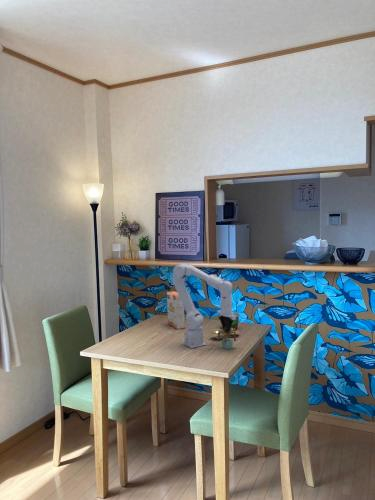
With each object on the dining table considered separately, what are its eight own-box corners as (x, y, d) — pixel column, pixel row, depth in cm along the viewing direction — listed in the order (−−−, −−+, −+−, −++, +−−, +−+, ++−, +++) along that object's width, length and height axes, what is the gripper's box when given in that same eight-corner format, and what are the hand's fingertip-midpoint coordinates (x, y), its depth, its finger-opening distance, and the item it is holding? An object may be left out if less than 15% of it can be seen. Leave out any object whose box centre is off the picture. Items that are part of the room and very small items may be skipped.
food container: (217, 329, 246) (216, 313, 245) (221, 326, 251) (220, 310, 250) (236, 331, 240) (235, 314, 239) (240, 328, 245) (239, 312, 244)
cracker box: (167, 324, 261) (166, 291, 259) (176, 323, 263) (175, 290, 261) (176, 329, 248) (175, 295, 246) (185, 328, 251) (184, 294, 249)
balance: (215, 342, 222) (214, 333, 222) (207, 338, 229) (207, 330, 229) (242, 336, 231) (242, 328, 230) (234, 332, 238) (233, 325, 237)
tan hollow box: (225, 343, 208) (224, 329, 207) (218, 340, 214) (217, 326, 213) (235, 341, 211) (235, 327, 211) (228, 337, 217) (228, 324, 216)
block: (226, 349, 210) (226, 341, 210) (221, 347, 214) (221, 339, 213) (232, 347, 212) (232, 340, 212) (228, 345, 216) (228, 338, 215)
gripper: (240, 306, 206) (241, 332, 208) (224, 301, 219) (225, 326, 220) (229, 308, 203) (229, 335, 204) (213, 303, 216) (214, 328, 217)
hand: (226, 330), depth 212 cm, fingers closed on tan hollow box, 2 cm apart
